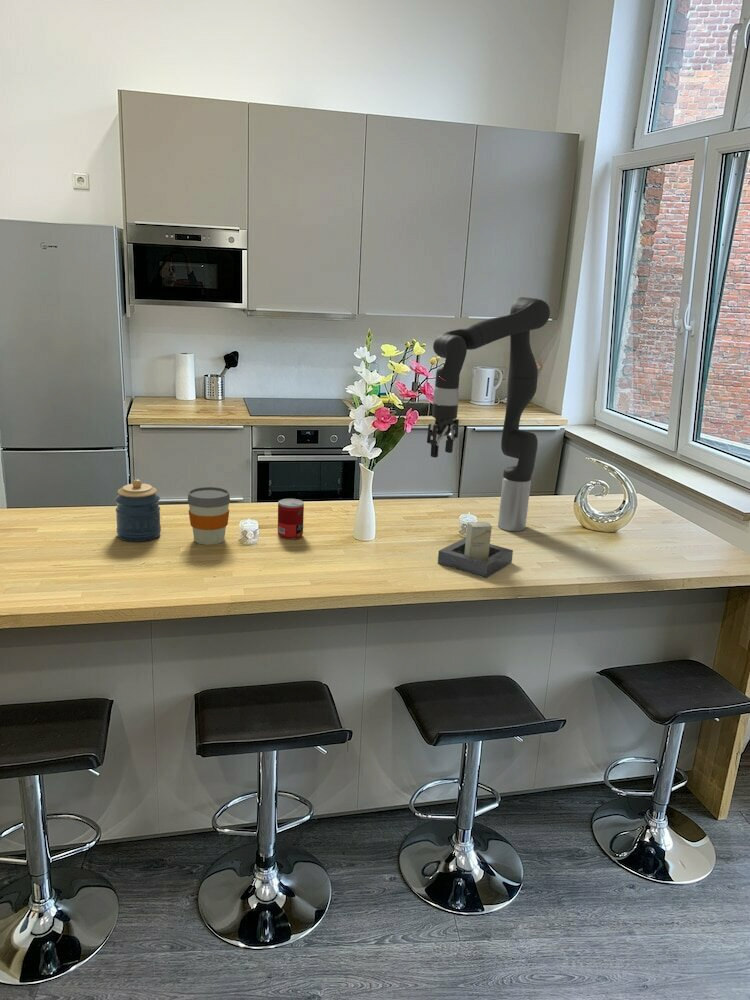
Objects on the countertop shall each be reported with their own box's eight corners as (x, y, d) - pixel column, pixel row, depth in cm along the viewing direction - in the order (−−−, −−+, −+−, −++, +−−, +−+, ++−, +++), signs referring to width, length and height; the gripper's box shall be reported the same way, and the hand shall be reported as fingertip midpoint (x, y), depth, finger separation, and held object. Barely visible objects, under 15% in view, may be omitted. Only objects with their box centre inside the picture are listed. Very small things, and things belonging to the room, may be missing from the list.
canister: (154, 543, 231) (152, 486, 226) (110, 541, 231) (107, 484, 226) (166, 529, 244) (164, 475, 238) (124, 527, 244) (122, 472, 238)
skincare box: (468, 566, 227) (472, 526, 224) (463, 560, 231) (466, 521, 228) (488, 565, 229) (492, 526, 225) (482, 559, 233) (486, 521, 229)
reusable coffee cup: (235, 534, 242) (235, 488, 238) (223, 548, 230) (223, 500, 226) (195, 531, 243) (195, 485, 239) (182, 545, 231) (181, 496, 227)
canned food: (301, 540, 241) (302, 506, 237) (275, 538, 241) (276, 505, 237) (304, 532, 248) (305, 499, 245) (279, 530, 248) (279, 497, 245)
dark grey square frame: (464, 549, 240) (465, 537, 239) (511, 562, 231) (513, 550, 230) (437, 563, 228) (438, 550, 227) (486, 578, 219) (487, 565, 218)
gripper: (447, 398, 241) (443, 448, 246) (422, 403, 230) (418, 456, 235) (468, 401, 237) (463, 453, 241) (444, 406, 226) (439, 460, 230)
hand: (441, 454), depth 238 cm, fingers open, 8 cm apart
